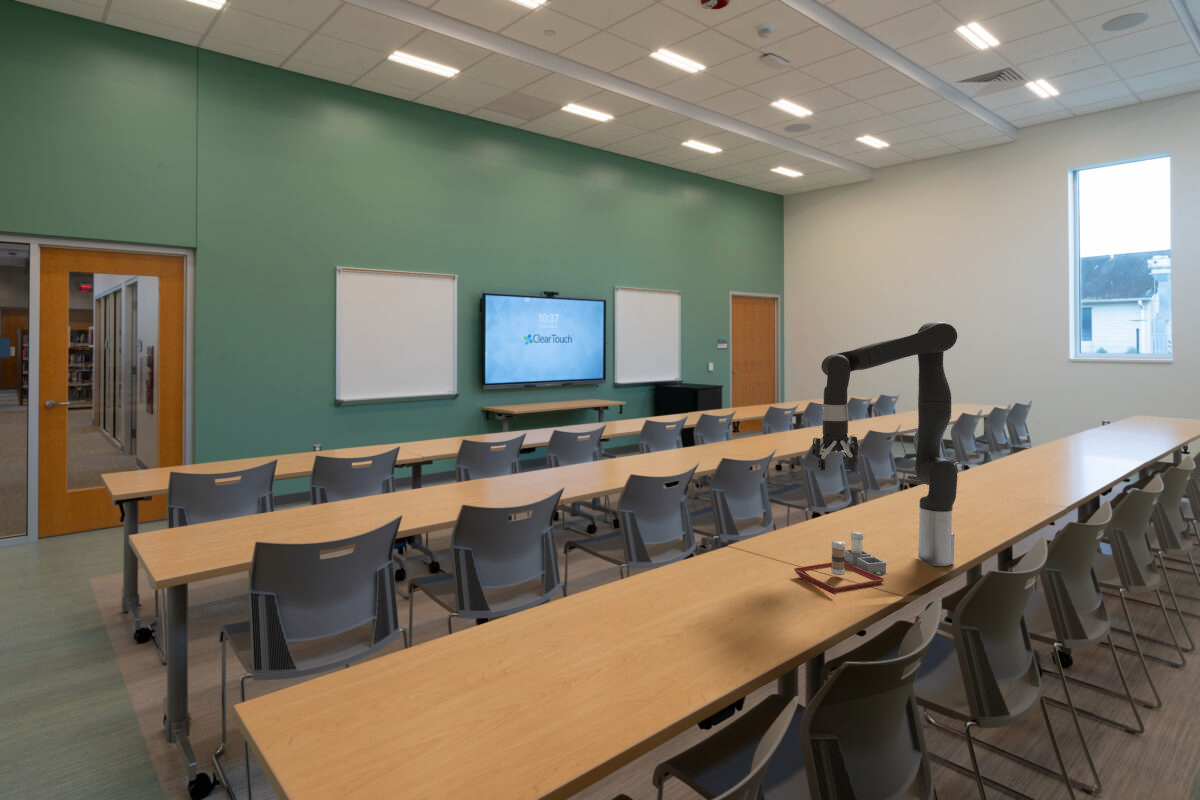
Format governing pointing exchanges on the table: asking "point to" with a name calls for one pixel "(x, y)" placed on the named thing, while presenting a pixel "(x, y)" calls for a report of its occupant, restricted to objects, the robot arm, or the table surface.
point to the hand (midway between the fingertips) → (834, 469)
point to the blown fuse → (838, 558)
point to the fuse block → (866, 562)
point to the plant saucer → (827, 587)
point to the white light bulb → (856, 543)
